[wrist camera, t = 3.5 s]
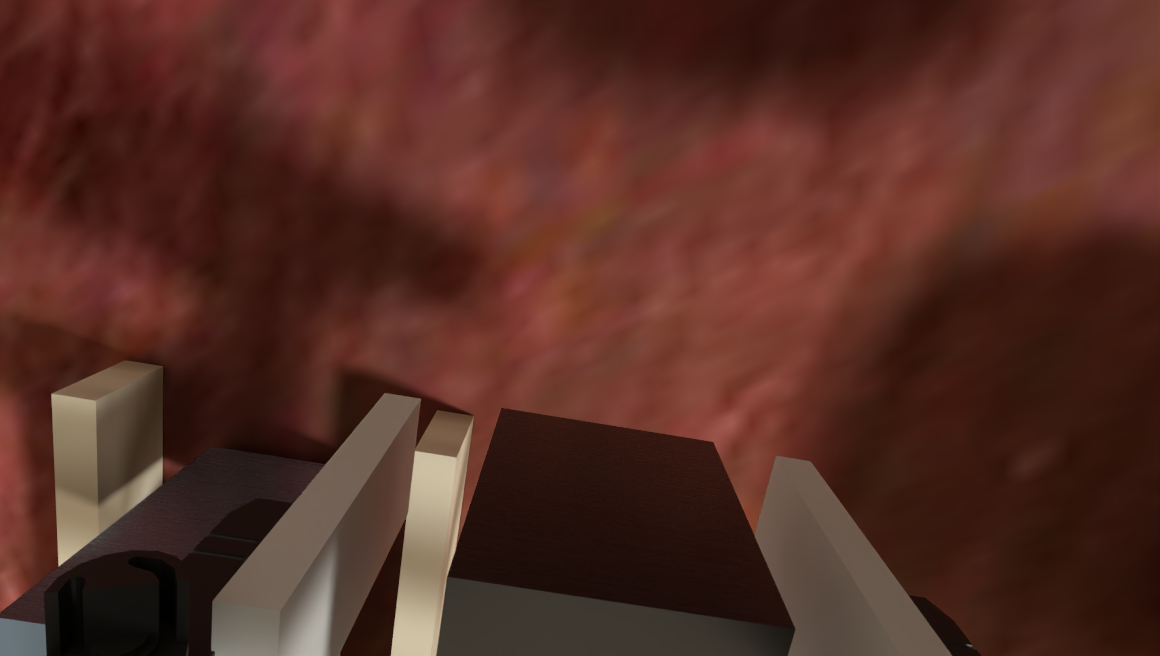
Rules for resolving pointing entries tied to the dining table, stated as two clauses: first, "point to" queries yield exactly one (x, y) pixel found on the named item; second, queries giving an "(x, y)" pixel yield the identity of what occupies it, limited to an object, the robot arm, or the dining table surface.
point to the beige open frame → (135, 470)
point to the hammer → (525, 545)
